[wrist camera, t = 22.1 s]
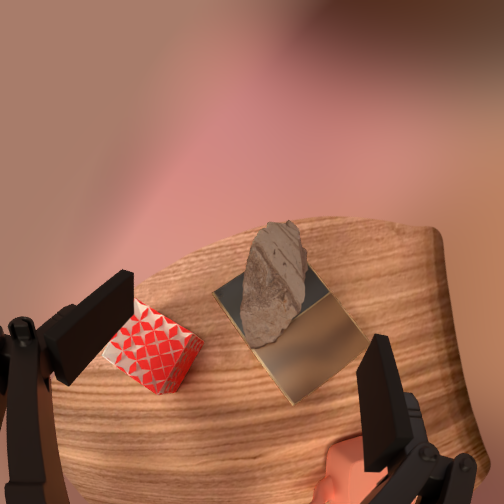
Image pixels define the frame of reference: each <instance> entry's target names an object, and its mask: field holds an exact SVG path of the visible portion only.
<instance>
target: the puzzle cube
mask: <svg viewBox="0 0 504 504" xmlns="http://www.w3.org/2000/svg"><path fill="white" fill-rule="evenodd" d="M203 344H204V341H203V340H202V339H200V338H199V337H198V336H196V335H195V334H194V333H192V332H191V331H189V330H187V329H185V328H184V327H182V326H180V325H179V324H177V323H175V322H174V321H172V320H170V319H169V318H167V317H165V316H164V315H162V314H160V313H159V312H157V311H155V310H154V309H152V308H151V307H149V306H147V305H146V304H144V303H143V302H141V301H139V300H138V299H136V298H135V299H134V315H133V316H132V317H131V318H130V319H129V320H128V321H127V322H126V323H125V324H124V326H123V327H122V328H121V329H120V330H119V331H118V332H117V333H116V334H115V335H114V336H113V338H112V339H111V340H110V341H109V343H108V345H107V347H106V348H105V350H104V352H103V354H102V356H103V357H104V358H106V359H107V360H108V361H109V362H111V363H112V364H113V365H115V366H116V367H118V368H119V369H120V370H122V371H123V372H124V373H126V374H127V375H129V376H130V377H132V378H133V379H134V380H136V381H137V382H139V383H140V384H142V385H143V386H145V387H146V388H148V389H149V390H151V391H152V392H154V393H155V394H157V395H162V394H168V393H175V392H176V391H177V389H178V388H179V386H180V384H181V382H182V380H183V379H184V377H185V375H186V373H187V372H188V370H189V368H190V366H191V365H192V363H193V361H194V359H195V358H196V356H197V354H198V353H199V351H200V349H201V347H202V346H203Z"/></svg>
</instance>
